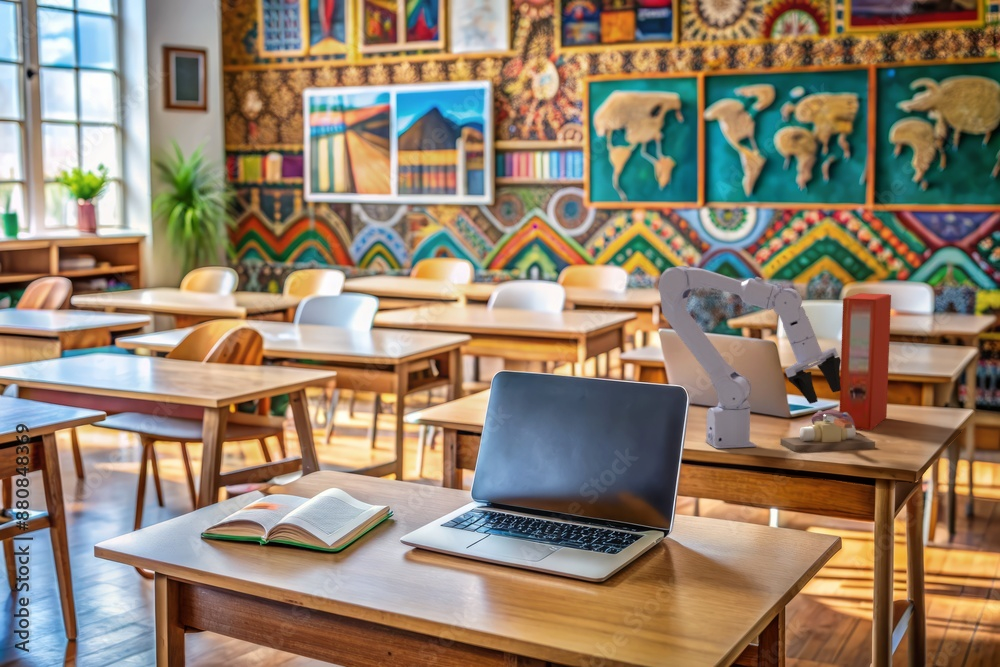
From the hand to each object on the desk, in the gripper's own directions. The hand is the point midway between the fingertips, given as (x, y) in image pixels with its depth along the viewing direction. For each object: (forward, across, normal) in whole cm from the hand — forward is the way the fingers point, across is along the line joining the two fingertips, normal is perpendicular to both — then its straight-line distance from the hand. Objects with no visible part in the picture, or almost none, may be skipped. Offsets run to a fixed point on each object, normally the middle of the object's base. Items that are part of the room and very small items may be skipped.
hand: (825, 397), depth 240 cm
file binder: (+14, +29, +22) cm, 39 cm away
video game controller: (+12, +14, +17) cm, 25 cm away
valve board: (+11, +1, +7) cm, 13 cm away
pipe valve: (+11, +1, +7) cm, 13 cm away
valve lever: (+7, +1, +1) cm, 7 cm away
